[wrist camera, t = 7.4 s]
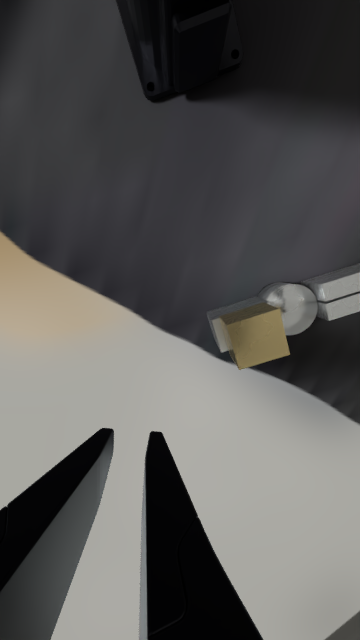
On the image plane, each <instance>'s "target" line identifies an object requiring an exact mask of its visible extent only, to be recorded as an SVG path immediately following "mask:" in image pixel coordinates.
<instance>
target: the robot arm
mask: <svg viewBox="0 0 360 640" xmlns="http://www.w3.org/2000/svg"><path fill="white" fill-rule="evenodd" d="M116 2H117V6H118V9H119V12H120V16H121V19H122V22H123V26H124V29H125V32H126V36H127V39H128V42H129V46H130V49H131V52H132V56H133V59H134V62H135V65H136V69H137V72H138V75H139V79H140V82H141V85H142V89H143V92H144V95H145V97H146V98H147V99H148V100H151V101H153V100H156V99H159V98H161V97H164V96H167V95H169V94H172V93H174V92H179V93H181V92H183V91H186V90H188V89H191V88H194V87H196V86H199V85H202V84H204V83H207V82H209V81H212V80H215V79H216V77H217V76H219V75H222V74H224V73H227V72H229V71H232V70H235V69H237V68H238V67H239V66H240V64H241V61H242V58H243V49H242V44H241V39H240V35H239V30H238V25H237V21H236V16H235V11H234V7H233V2H232V0H116ZM232 55H235V56H237V59H233V58H232V57H231V56H232ZM149 87H153V88H154V90H153V91H152V92H150V91H148V88H149ZM113 445H114V431H113V429H110V428H102V429H100V430H99V431H97V432H96V433H95V434H94V435H93V436H91V437H90V438H89V439H88V440H86V441H85V442H84V443H83V444H81V445H80V446H79V447H78V448H77V449H75V450H74V451H73V452H72V453H70V454H69V455H68V456H67V457H65V458H64V459H63V460H62V461H60V462H59V463H58V464H57V465H55V466H54V467H53V468H52V469H51V470H49V471H48V472H47V473H46V474H44V475H43V476H42V477H41V478H40V479H38V480H37V481H36V482H35V483H33V484H32V485H31V486H30V487H28V488H27V489H26V490H25V491H24V492H22V493H21V494H20V495H19V496H17V497H16V498H15V499H14V500H13V501H11V502H10V503H9V504H8V505H7V507H6V506H5V507H4V508H2V509H1V510H0V640H50V639H51V636H52V634H53V631H54V628H55V626H56V623H57V620H58V617H59V615H60V612H61V609H62V606H63V603H64V601H65V598H66V596H67V593H68V590H69V587H70V585H71V582H72V579H73V576H74V574H75V571H76V568H77V565H78V563H79V560H80V557H81V555H82V552H83V549H84V546H85V544H86V541H87V538H88V535H89V532H90V530H91V527H92V524H93V522H94V519H95V516H96V514H97V510H98V507H99V505H100V501H101V498H102V494H103V490H104V486H105V482H106V479H107V475H108V471H109V467H110V463H111V459H112V455H113V447H114V446H113ZM140 573H141V574H140V613H139V640H263V638H262V637H261V635H260V633H259V631H258V629H257V628H256V626H255V624H254V622H253V621H252V619H251V617H250V615H249V614H248V612H247V610H246V608H245V606H244V605H243V603H242V601H241V599H240V598H239V596H238V594H237V592H236V590H235V589H234V587H233V585H232V584H231V582H230V580H229V578H228V576H227V575H226V573H225V571H224V569H223V567H222V565H221V563H220V561H219V559H218V558H217V556H216V554H215V552H214V550H213V548H212V546H211V543H210V541H209V539H208V537H207V535H206V533H205V531H204V528H203V526H202V524H201V521H200V519H199V518H198V515H197V513H196V510H195V508H194V506H193V503H192V501H191V499H190V496H189V494H188V492H187V489H186V487H185V485H184V482H183V480H182V478H181V475H180V473H179V471H178V469H177V466H176V464H175V461H174V459H173V457H172V455H171V452H170V450H169V448H168V445H167V443H166V441H165V438H164V436H163V434H162V432H154V431H152V432H151V433H150V435H149V440H148V445H147V451H146V457H145V470H144V486H143V503H142V530H141V572H140Z"/></svg>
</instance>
